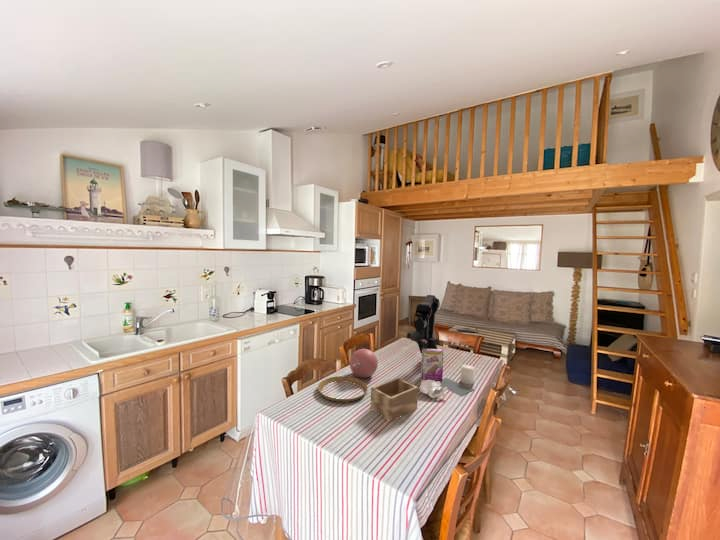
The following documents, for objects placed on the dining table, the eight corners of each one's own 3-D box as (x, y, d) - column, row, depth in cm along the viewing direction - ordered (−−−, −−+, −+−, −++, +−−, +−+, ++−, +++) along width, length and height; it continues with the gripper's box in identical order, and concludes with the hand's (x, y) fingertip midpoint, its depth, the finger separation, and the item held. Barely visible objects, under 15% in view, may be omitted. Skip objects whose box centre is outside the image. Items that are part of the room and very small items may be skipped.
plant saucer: (374, 388, 152) (374, 382, 152) (354, 411, 130) (354, 403, 130) (333, 378, 162) (333, 372, 162) (307, 398, 140) (308, 391, 140)
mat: (427, 385, 156) (427, 385, 156) (445, 378, 166) (445, 377, 166) (456, 399, 143) (456, 398, 143) (474, 389, 153) (474, 389, 153)
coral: (415, 381, 147) (434, 374, 151) (415, 392, 149) (434, 385, 153) (429, 396, 137) (450, 388, 141) (429, 408, 139) (450, 400, 143)
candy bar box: (421, 380, 162) (422, 350, 161) (420, 376, 167) (421, 348, 166) (442, 381, 161) (443, 351, 160) (441, 377, 166) (442, 348, 165)
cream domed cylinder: (457, 381, 163) (458, 366, 162) (464, 377, 167) (465, 363, 167) (469, 385, 158) (470, 371, 157) (476, 382, 162) (477, 367, 162)
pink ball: (338, 380, 159) (339, 352, 158) (359, 368, 176) (360, 343, 174) (363, 388, 150) (363, 359, 149) (382, 375, 167) (383, 348, 166)
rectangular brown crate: (370, 409, 131) (371, 387, 130) (397, 398, 142) (398, 377, 141) (390, 422, 122) (390, 398, 121) (417, 409, 133) (418, 387, 132)
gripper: (400, 324, 169) (399, 351, 170) (427, 332, 155) (426, 361, 156) (413, 322, 176) (412, 347, 178) (440, 329, 162) (438, 357, 163)
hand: (421, 353), depth 168 cm, fingers closed
